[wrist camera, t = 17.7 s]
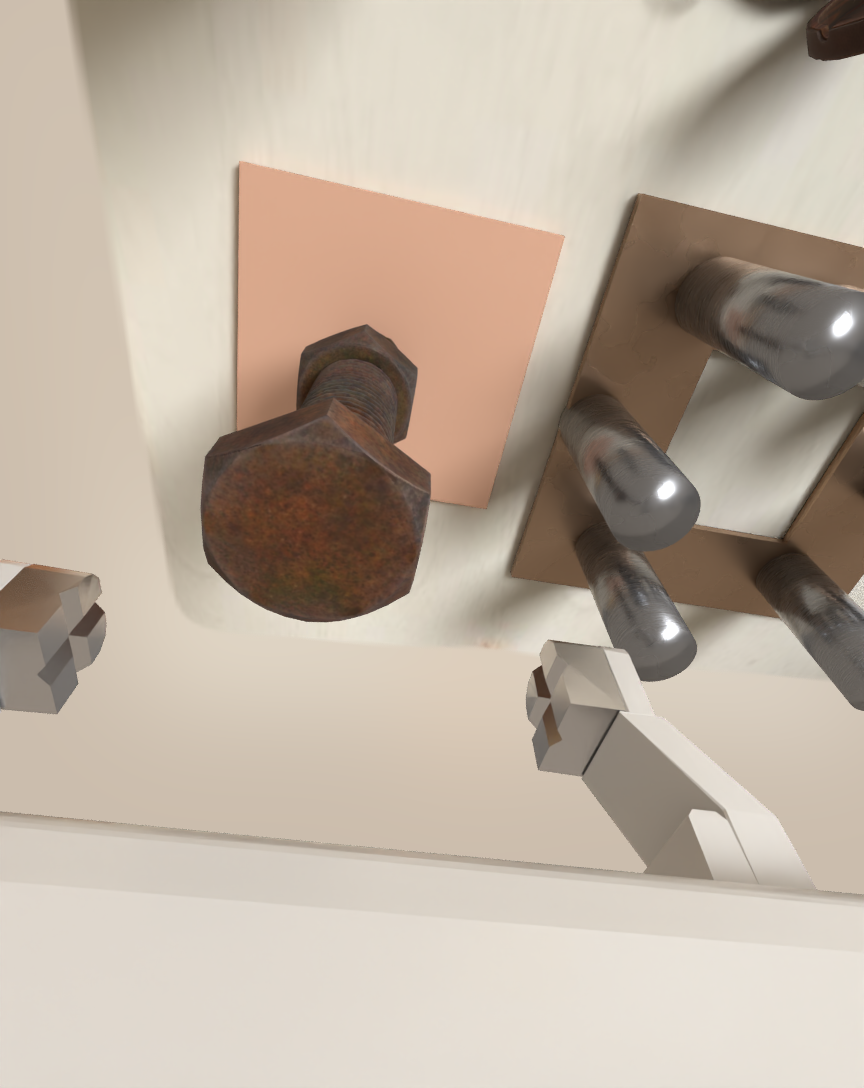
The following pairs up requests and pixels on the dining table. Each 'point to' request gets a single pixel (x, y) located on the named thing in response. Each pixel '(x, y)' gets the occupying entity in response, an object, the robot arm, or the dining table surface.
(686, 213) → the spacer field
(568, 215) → the dining table surface
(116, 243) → the dining table surface
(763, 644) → the dining table surface
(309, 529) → the bolt
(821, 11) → the compass
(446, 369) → the pad
